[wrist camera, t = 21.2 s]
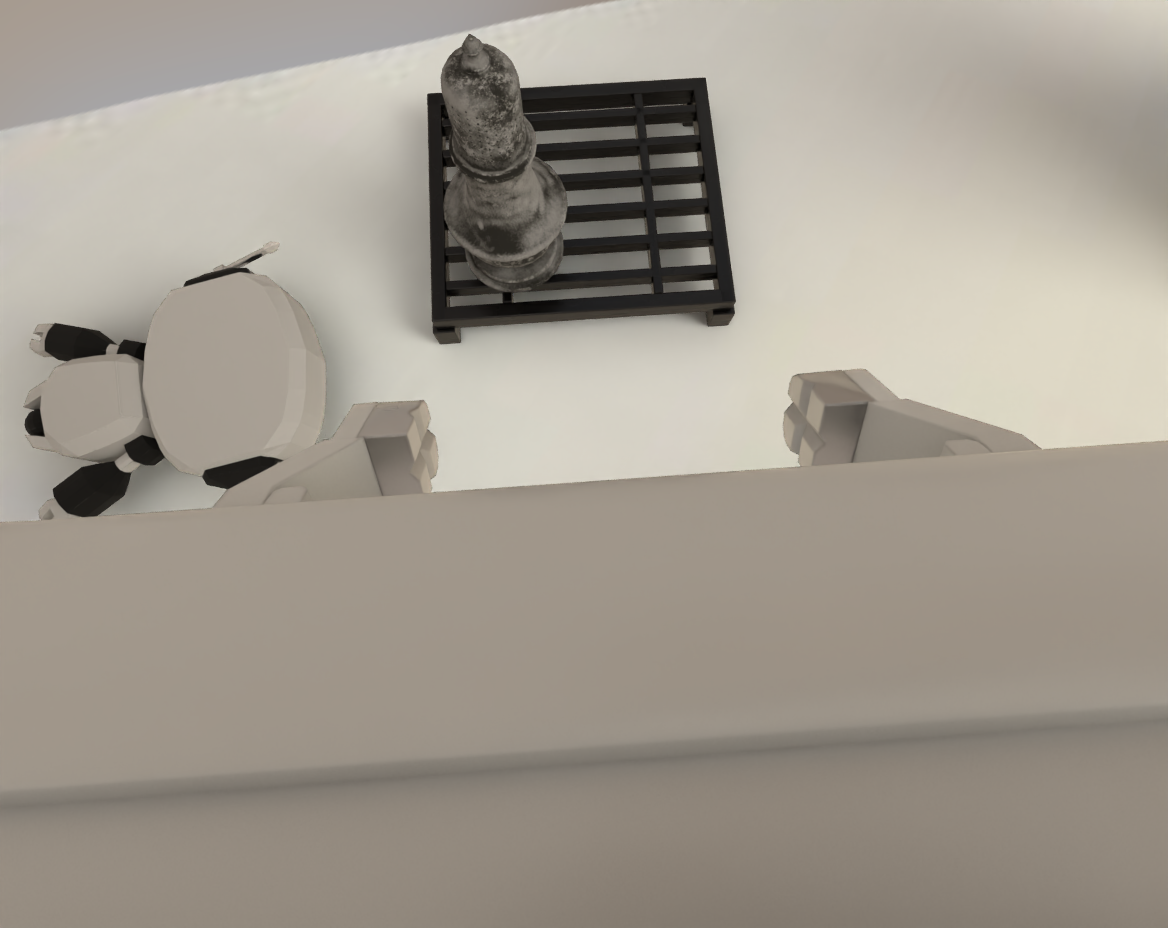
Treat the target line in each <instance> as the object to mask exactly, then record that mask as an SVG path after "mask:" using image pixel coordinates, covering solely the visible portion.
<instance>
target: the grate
mask: <svg viewBox="0 0 1168 928" xmlns="http://www.w3.org/2000/svg"><path fill="white" fill-rule="evenodd" d="M520 92H521V100H522V108H523V113H537V112H554V111H571V110H588V109H605V108H622V107H633V108H624V109H607V110H590V111H573V112H556V113H539V114H523V115H524V116H525V118H526V119H527V120H528V121H529V122H530V124H531V125H532V127H533V130H534V131H550V130H567V129H584V128H601V127H618V126H635V134H636V139H619V140H603V141H586V142H569V143H552V144H537V147H536V153H535V157H538V158H539V159H541V160H542V161H557V160H573V159H590V158H606V157H623V156H638V163H639V170H628V171H611V172H595V173H578V174H562V175H558V176H559V177H560V179H561V181H562V184H563V186H564V188H565V190H566V191H575V190H591V189H607V188H624V187H640V186H641V192H642V202H632V203H615V204H599V205H583V206H568V207H567V213H566V220H565V222H564V223H573V222H589V221H606V220H622V219H638V218H644V221H645V231H646V235H634V236H618V237H603V238H587V239H571V240H563V244H564V250H563V256H568V255H583V254H599V253H615V252H631V251H647V250H648V260H649V269H634V270H618V271H602V272H587V273H571V274H555V275H552V276H551V278H550V279H549V280H547V281H546V282H545V283H543V284H542V285H540V286H539V287H536V288H534V289H531V290H528V291H525V292H530V291H545V290H561V289H576V288H592V287H607V286H623V285H638V284H651V289H652V294H639V295H624V296H608V297H593V298H578V299H562V300H547V301H531V302H516V303H514V300H513V293H510V292H503V291H498V290H496V289H493V288H491V287H488V286H487V285H485V284H484V283H483V282H481V281H480V280H479V279H477V280H461V281H450V277H449V263H457V262H467V259H466V254H465V248H463V247H462V246H459V247H449V241H448V230H449V228H448V226H447V223H446V221H445V216H444V205H443V204H444V199H445V194H446V190H447V188H448V186H449V184H450V182H451V181H447V168H446V167H457V166H456V165H455V164H454V162H453V160H452V157H451V155H450V152H449V150H446V141H447V140H449V137H450V132H451V130H452V125H451V122H450V118H449V115H448V112H447V108H446V105H445V101H444V98H443V95H442V93H430V94H427V105H428V151H429V201H430V250H431V299H432V322H433V334H434V335H435V337H436V339H437V340H438V342H439V343H440V344H451V343H461V333H460V328H462V327H477V326H493V325H508V324H523V323H538V322H554V321H569V320H584V319H600V318H615V317H630V316H646V315H661V314H676V313H692V312H706V318H707V326H708V327H709V326H725V325H728V324H729V323H730V321H731V319H732V317H733V316H734V314H735V311H734V304H735V302H736V300H735V292H734V285H733V277H732V270H731V263H730V255H729V248H728V240H727V233H726V225H725V218H724V210H723V203H722V196H721V188H720V181H719V173H718V166H717V158H716V151H715V143H714V136H713V129H712V121H711V114H710V106H709V99H708V91H707V84H706V78H688V79H671V80H654V81H637V82H620V83H602V84H585V85H568V86H551V87H534V88H520ZM673 104H682V105H675V106H658V107H644V106H656V105H673ZM668 123H683V126H693V127H694V135H686V136H669V137H653V138H647V134H646V125H651V124H668ZM689 152H697V158H698V166H693V167H677V168H660V169H650V162H649V155H656V154H673V153H689ZM689 183H701V190H702V198H696V199H680V200H664V201H654V199H653V190H652V186H656V185H673V184H689ZM702 214H705V221H706V229H707V231H698V232H682V233H666V234H657V227H656V218H655V217H670V216H686V215H702ZM694 247H709V253H710V261H711V265H696V266H681V267H665V268H661V264H660V255H659V250H662V249H678V248H694ZM701 280H713V284H714V290H701V291H686V292H670V293H663V283H670V282H685V281H701ZM498 293H502V294H503V303H500V304H485V305H469V306H454V307H450V297H452V296H467V295H483V294H498Z"/></svg>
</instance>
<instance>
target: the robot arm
mask: <svg viewBox="0 0 1168 928" xmlns="http://www.w3.org/2000/svg"><path fill="white" fill-rule="evenodd" d="M788 395H789V396H790V398H791V400H792V401H793V403H792V404H791V405H790V406H789V407H788V408H787V410H786V411H785V413H784V421H783V432H784V438H785V441H786V444H787V446H788V448H789V449H790V451H792V452H794V453H796V454H798V455H799V458H798V463H799V464H800V466H801V467H787V468H773V469H759V470H745V471H730V472H716V473H702V474H688V475H674V476H659V477H645V478H631V479H617V480H603V481H588V482H574V483H560V484H546V485H532V486H518V487H503V488H489V489H475V490H461V491H447V492H432V493H431V490H432V485H431V481H430V480H431V479H432V478H433V477H435V476H436V473H437V469H438V448H437V442H436V438H435V436H434V435H433V434H432V433H431V432H430V431H429V430H428V429H427V428H428V425H429V423H430V420H431V417H430V413H429V410H428V406H427V404H426V402H425V401H424V400H417V401H398V402H380V403H378V402H372V403H362V404H354V405H353V406H352V408H351V409H350V411H349V412H348V414H347V415H346V417H345V418H344V420H343V422H342V423H341V425H340V426H339V428H338V429H337V431H336V432H335V434H334V436H333V437H332V439H328V440H323V441H321V442H319V443H317V444H315V445H313V446H311V447H309V448H307V449H305V450H303V451H301V452H299V453H297V454H296V455H294V456H292V457H290V458H288V459H286V460H284V461H282V462H280V463H278V464H276V465H274V466H272V467H270V468H268V469H267V470H265V471H263V472H261V473H259V474H257V475H255V476H253V477H251V478H249V479H247V480H245V481H243V482H241V483H239V484H238V485H236V486H234V487H232V488H230V489H228V490H226V492H225V493H224V494H223V495H222V497H221V498H220V499H219V500H218V501H217V503H216V504H215V505H214V506H213V508H207V509H193V510H179V511H165V512H151V513H137V514H123V515H109V516H95V517H81V518H67V519H52V520H38V521H13V522H0V928H1168V441H1154V442H1140V443H1126V444H1112V445H1097V446H1083V447H1069V448H1055V449H1041V448H1040V447H1038V446H1037V445H1036V444H1034V443H1033V442H1032V441H1030V440H1029V439H1027V438H1026V437H1025V436H1023V435H1022V434H1019V433H1016V432H1012V431H1009V430H1006V429H1003V428H999V427H996V426H993V425H990V424H987V423H983V422H980V421H977V420H974V419H970V418H967V417H964V416H961V415H957V414H954V413H951V412H948V411H944V410H941V409H938V408H935V407H931V406H928V405H925V404H922V403H918V402H915V401H912V400H909V399H899V398H898V397H897V396H896V395H894V394H893V393H892V392H891V391H890V390H889V389H888V388H886V387H885V386H884V385H883V384H882V383H881V382H880V381H878V380H877V379H876V378H875V377H874V376H873V375H872V374H871V373H869V372H868V371H867V370H866V369H852V370H843V371H842V370H836V371H825V372H814V373H803V374H797V375H794V376H793V377H792V379H791V381H790V384H789V390H788Z"/></svg>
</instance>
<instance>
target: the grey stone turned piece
mask: <svg viewBox="0 0 1168 928" xmlns="http://www.w3.org/2000/svg"><path fill="white" fill-rule="evenodd" d="M441 88H442V95H443V98H444V101H445V105H446V108H447V112H448V115H449V118H450V122H451V125H452V130H451V132H450V137H449V152H450V155H451V157H452V160H453V162H454V164H455V165H456V166H457V168H458V169H459V171H458V172H457V173H456V174H455V175H454V177H453V178H452V180H451V182H450V184H449V186H448V188H447V190H446V194H445V199H444V204H443V205H444V216H445V221H446V223H447V226H448V228H449V231H450V233H451V234H452V236H453V237H454V238H455V240H456V241H457V242H458V243H459V245H460V246H462V247H463V248H465V254H466V259H467V262H468V264H469V267H470V269H471V271H472V272H473V273H474V274H475V276H476V277H477V278H478V279H479V280H480V281H481V282H483V283H484V284H485V285H487V286H488V287H491V288H493V289H496V290H498V291H503V292H510V293H516V292H525V291H528V290H531V289H534V288H536V287H539V286H540V285H542V284H543V283H545V282H546V281H547V280H549V279H550V278H551V276H552V275H553V274H554V273H555V272H556V271H557V269H558V267H559V265H560V262H561V260H562V256H563V250H564V244H563V237H562V233H561V229H562V226H563V224H564V222H565V220H566V213H567V207H568V204H567V197H566V190H565V188H564V186H563V184H562V181H561V179H560V177H559V176H558V175H557V174H556V172H555V171H554V170H553V169H552V168H551V167H550V166H549V165H548V164H546V163H545V162H543V161H542V160H541V159H539V158H538V157H535V153H536V147H537V143H536V135H535V132H534V130H533V127H532V125H531V124H530V122H529V121H528V120H527V119H526V118H525V116H524V115H523V108H522V100H521V92H520V84H519V77H518V74H517V72H516V69H515V67H514V65H513V63H512V61H511V60H510V59H509V58H508V57H507V55H505V54H504V53H503V52H501V51H500V50H499V49H497V48H496V47H494V46H491V45H488V44H483V43H482V42H481V41H480V40H479V39H477V38H476V37H474V36H473V35H471V34H469V35H468V37H466V39H465V41H464V42H463V44H462V47H460V48H458V49H457V50H455V51H454V52H453V53H452V54H451V55H450V56H449V58H448V60H447V61H446V63H445V65H444V67H443V69H442V74H441Z"/></svg>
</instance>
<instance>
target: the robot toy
mask: <svg viewBox="0 0 1168 928" xmlns="http://www.w3.org/2000/svg"><path fill="white" fill-rule="evenodd" d="M279 244H280V243H277V242H269V243H267V244H265V245H263V248H261V249H259V250H257V251H255V252H253V253H251V254H249V255H247V256H245V257H243V258H241V259H239V260H237V261H236V262H234V263H232V264H230V265H228V266H224V265H220V266H218V267H216V268H215V269H214V272H211V273H207V274H204V275H202V276H199V277H197V278H194V279H191V280H188V281H186V283H185V284H184V286H183V287H182V288H178V289H174V290H171V292H170V293H169V294H168V296H167V297H166V298H165V299H164V301H163V302H162V303H161V305H160V306H159V308H158V309H157V311H156V312H155V313H154V315H153V318H152V321H151V324H150V328H149V331H148V336H147V342H146V343H141V342H135V341H129V340H123V342H122V343H121V344H120V345H117V344H116V343H114V342H113V341H112V340H111V339H109V338H108V337H107V336H105V335H104V334H103V333H101V332H100V331H97V330H92V329H86V328H81V327H75V326H69V325H64V324H58V323H55V324H39V325H38V326H37V327H36V329H35V331H34V334H37V335H39V336H41V337H42V338H41V340H40V341H36V340H33V339H31V342H30V348H31V349H32V350H33V351H34V352H35V353H37V354H39V355H41V356H43V357H55V358H56V359H58V360H62V361H68V362H66V363H64V364H61V365H59V366H57V367H55V369H54V370H53V371H52V373H51V375H50V376H49V378H48V379H47V380H46V381H44V382H42V383H41V384H39V385H38V386H36V387H35V388H33V389H32V390H30V391H29V394H28V396H27V399H26V401H25V403H24V406H23V407H25V408H29V409H33V410H34V411H32V412H30V413H29V414H28V416H27V418H26V419H25V428H26V430H27V432H28V433H29V434H30V435H25V436H26V438H27V439H28V441H29V442H30V444H31V446H32V447H33V448H38V449H43V450H48V451H53V452H58V453H59V454H61V455H62V456H68V457H73V458H78V459H83V460H88V461H93V462H99V463H100V464H95V465H90V466H85V467H81V468H80V469H79V470H77V471H76V472H75V473H73V474H72V475H71V476H69V477H68V478H67V479H65V480H64V481H63V482H61V483H60V484H59V485H57V486H56V487H55V488H54V489H53V494H54V499H50V500H47V501H46V502H45V504H44V505H43V506H42V507H41V508H40V510H39V518H40V519H41V520H52V519H67V518H80V517H95V516H98V515H99V514H101V513H102V512H103V511H105V510H106V509H107V508H109V507H110V506H111V505H112V504H114V503H115V502H116V501H118V500H119V499H120V498H122V497H123V496H124V495H125V492H126V489H127V486H128V483H129V480H130V475H131V472H132V471H134V470H135V469H136V468H138V467H139V466H140V465H141V464H143V465H156V464H157V463H158V462H160V461H161V460H162V459H164V458H166V459H167V460H168V461H169V462H170V463H171V464H172V465H173V466H174V467H175V468H176V469H177V470H178V471H180V472H185V473H189V474H193V475H198V476H202V477H203V479H204V480H205V482H206V484H207V485H210V486H215V487H219V488H224V489H230V488H232V487H234V486H236V485H238V484H239V483H241V482H243V481H245V480H247V479H249V478H251V477H253V476H255V475H257V474H259V473H261V472H263V471H265V470H267V469H268V468H270V467H272V466H274V465H276V464H278V463H280V462H282V461H284V460H286V459H288V458H290V457H292V456H294V455H296V454H297V453H299V452H301V451H303V450H305V449H307V448H309V447H311V446H313V445H315V442H316V440H317V438H318V436H319V434H320V432H321V428H322V424H323V420H324V412H325V404H326V361H325V358H324V355H323V353H322V350H321V347H320V344H319V341H318V338H317V335H316V332H315V329H314V327H313V325H312V323H311V321H310V319H309V317H308V315H307V313H306V311H305V310H304V308H303V307H302V306H301V304H300V303H298V302H297V301H296V300H295V299H294V298H293V297H291V296H290V295H289V294H288V293H287V292H286V291H284V290H283V289H282V288H281V287H279V286H278V285H277V284H276V283H274V282H273V281H272V280H271V279H269V278H268V277H267V276H265V275H257V274H254V273H253V272H251V271H250V270H249V269H247V268H240V267H242V266H244V265H246V264H248V263H250V262H252V261H254V260H256V259H258V258H260V257H262V256H264V255H266V254H268V253H270V254H271V253H273V252H275V251H277V250H278V248H279Z"/></svg>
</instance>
